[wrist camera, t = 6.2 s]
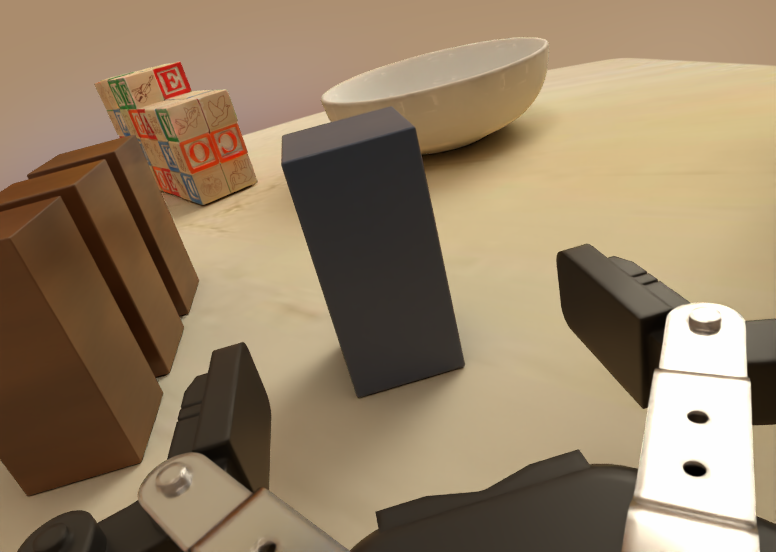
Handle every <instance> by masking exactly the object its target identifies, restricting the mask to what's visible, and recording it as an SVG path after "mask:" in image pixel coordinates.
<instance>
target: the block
mask: <svg viewBox="0 0 776 552" xmlns="http://www.w3.org/2000/svg"><path fill="white" fill-rule="evenodd" d="M281 166H282V169H283V172H284V175H285V178H286V181H287V184H288V187H289V190H290V193H291V196H292V199H293V202H294V205H295V209H296V212H297V215H298V218H299V221H300V224H301V227H302V230H303V233H304V236H305V239H306V242H307V245H308V248H309V252H310V255H311V258H312V261H313V264H314V267H315V270H316V273H317V276H318V279H319V282H320V285H321V288H322V291H323V294H324V298H325V301H326V304H327V307H328V310H329V313H330V316H331V319H332V322H333V325H334V328H335V331H336V334H337V337H338V340H339V344H340V347H341V350H342V353H343V356H344V359H345V362H346V365H347V368H348V371H349V374H350V377H351V380H352V383H353V387H354V390H355V393H356V396H357V397H358V398H359V397H363V396H366V395H370V394H373V393H376V392H380V391H383V390H386V389H390V388H393V387H397V386H400V385H403V384H407V383H410V382H413V381H417V380H420V379H424V378H427V377H430V376H434V375H437V374H441V373H444V372H447V371H451V370H454V369H457V368H461V367H464V366H465V362H464V358H463V353H462V348H461V343H460V338H459V333H458V329H457V324H456V319H455V314H454V309H453V305H452V300H451V295H450V290H449V285H448V281H447V276H446V271H445V266H444V261H443V256H442V252H441V247H440V242H439V237H438V232H437V228H436V223H435V218H434V213H433V208H432V204H431V199H430V194H429V189H428V184H427V179H426V175H425V170H424V165H423V160H422V155H421V151H420V146H419V141H418V136H417V131H416V128H415V126H413V125H412V124H411V123H410V122H409V121H408V120H407V119H406V118H404V117H403V116H402V115H401V114H400V113H399V112H398V111H397V110H395V109H394V108H393V107H392V106H389V107H386V108H382V109H378V110H375V111H371V112H367V113H363V114H360V115H356V116H352V117H349V118H345V119H341V120H338V121H334V122H330V123H327V124H323V125H319V126H316V127H312V128H308V129H305V130H301V131H297V132H294V133H290V134H286V135H283V136H282V159H281Z"/></svg>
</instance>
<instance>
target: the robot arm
mask: <svg viewBox="0 0 776 552" xmlns="http://www.w3.org/2000/svg"><path fill="white" fill-rule="evenodd" d="M556 261H557V271H558V281H559V290H560V300H561V308H562V312H563V315H564V318H565V320H566V322H567V324H568V326H569V327H570V329H571V330H572V331H573V332H574V333H575V334H576V335H577V337H578V338H579V339H580V340H581V341H582V342H583V343H584V344H585V345H586V347H587V348H588V349H589V350H590V351H591V352H592V353H593V354H594V355H595V356H596V358H597V359H598V360H599V361H600V362H601V363H602V364H603V365H604V366H605V368H606V369H607V370H608V371H609V372H610V373H611V374H612V375H613V376H614V377H615V379H616V380H617V381H618V382H619V383H620V384H621V385H622V386H623V387H624V389H625V390H626V391H627V392H628V393H629V394H630V395H631V396H632V397H633V398H634V400H635V401H636V402H637V403H638V404H639V405H640V406H641V407H642V408H643V409H645V408H648V411H647V418H646V424H645V430H644V436H643V442H642V449H641V455H640V461H639V467H638V469H636V468H632V467H627V466H622V465H613V464H588V462H587V461H586V459H585V458H584V456H583V455H582V453H581V452H580V450H579V449H578V450H575V451H572V452H569V453H565V454H562V455H559V456H556V457H552V458H549V459H546V460H543V461H539V462H536V463H533V464H530V465H528V466H526V467H524V468H523V469H521V470H519V471H517V472H516V473H514V474H512V475H510V476H509V477H507V478H505V479H503V480H502V481H500V482H498V483H496V484H495V485H493V486H491V487H489V488H488V489H486V490H483V491H479V492H469V493H458V494H446V495H435V496H425V497H422V498H419V499H416V500H412V501H409V502H406V503H403V504H399V505H396V506H393V507H390V508H386V509H383V510H380V511H376V517H377V523H378V528H379V529H378V530H376V531H374V532H373V533H371V534H369V535H368V536H367V537H365V538H364V539H363V540H361V541H360V542H359V543H358V544H356V545H355V546H354V547H353V548H352V549H351V550H350V551H349V550H348V549H346V548H345V547H344V546H342V545H341V544H340V543H338V542H337V541H336V540H334V539H333V538H332V537H330V536H329V535H328V534H326V533H325V532H324V531H322V530H321V529H320V528H318V527H317V526H316V525H314V524H313V523H312V522H310V521H309V520H308V519H306V518H305V517H304V516H302V515H301V514H300V513H298V512H297V511H296V510H294V509H293V508H292V507H290V506H289V505H288V504H286V503H285V502H284V501H282V500H281V499H280V498H278V497H277V496H276V495H274V494H273V493H272V492H270V491H269V471H270V440H271V409H270V404H269V400H268V396H267V393H266V391H265V388H264V386H263V383H262V381H261V378H260V376H259V374H258V371H257V369H256V366H255V364H254V362H253V359H252V357H251V354H250V352H249V350H248V348H247V346H246V344H245V343H244V342H242V343H238V344H235V345H231V346H228V347H224V348H221V349H218V350H214V351H213V352H212V356H211V361H210V366H209V371H208V373H206V374H203V375H199V376H197V377H196V378H195V379H194V380H193V382H192V383H191V384H190V386H189V387H188V388H187V390H186V391H185V393H184V397H183V401H182V404H181V410H180V412H179V416H178V422H177V424H176V427H175V431H174V435H173V439H172V443H171V447H170V450H169V454H168V458H167V460H166V461H164V462H163V463H161V464H160V465H158V466H157V467H156V468H155V469H153V470H152V471H151V472H150V473H149V474H148V476H147V477H146V478H145V479H144V481H143V482H142V484H141V486H140V488H139V492H138V500H137V501H136V502H135V503H133V504H131V505H130V506H128V507H126V508H124V509H122V510H121V511H119V512H117V513H115V514H113V515H111V516H109V517H108V518H106V519H104V520H102V521H100V522H98V523H97V522H96V521H95V519H94V518H93V517H92V515H91V514H90V513H88V512H86V511H82V510H76V511H70V512H67V513H64V514H61V515H59V516H57V517H55V518H53V519H51V520H49V521H48V522H46V523H45V524H43V525H42V526H41V527H39V528H38V529H37V530H36V531H34V532H33V533H32V534H31V535H30V536H29V537H28V538H27V539H26V540H25V542H24V543H23V544H22V545H21V547H20V548H19V550H18V551H17V552H776V524H774V523H772V522H769V521H767V520H765V519H762V518H760V517H757V516H756V506H755V482H754V457H753V432H752V425H773V424H776V319H765V320H753V321H745V320H744V318H743V317H742V316H741V315H740V314H739V313H738V312H737V311H735V310H733V309H731V308H729V307H726V306H723V305H719V304H713V303H690V302H688V301H687V300H686V299H684V298H683V297H681V296H680V295H679V294H677V293H676V292H674V291H673V290H672V289H670V288H669V287H668V286H666V285H665V284H663V283H662V282H661V281H659V282H658V280H657V279H656V278H655V277H654V276H652V275H651V274H647V272H646V271H645V270H644V269H642V268H641V267H640V266H638V265H637V264H635V263H634V262H632V261H628V260H625V259H622V258H619V257H615V256H612V257H609V258H607V257H606V256H604V255H603V254H602V253H600V252H599V251H598V250H597V249H595V248H594V247H593V246H591V245H590V244H584V245H581V246H577V247H574V248H570V249H567V250H563V251H560V252H558V254H557V260H556Z"/></svg>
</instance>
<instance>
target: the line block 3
mask: <svg viewBox="0 0 776 552" xmlns="http://www.w3.org/2000/svg"><path fill="white" fill-rule="evenodd" d="M162 396H163V391H162V389H161V388H160V386H159V384H158V382H157V380H156V378H155V376H154V374H153V372H152V370H151V368H150V367H149V365H148V363H147V361H146V359H145V357H144V355H143V353H142V351H141V349H140V347H139V346H138V344H137V342H136V340H135V338H134V336H133V334H132V332H131V330H130V328H129V326H128V324H127V323H126V321H125V319H124V317H123V315H122V313H121V311H120V309H119V307H118V305H117V303H116V302H115V300H114V298H113V296H112V294H111V292H110V290H109V288H108V286H107V284H106V282H105V280H104V279H103V277H102V275H101V273H100V271H99V269H98V267H97V265H96V263H95V261H94V259H93V258H92V256H91V254H90V252H89V250H88V248H87V246H86V244H85V242H84V240H83V238H82V237H81V235H80V233H79V231H78V229H77V227H76V225H75V223H74V221H73V219H72V217H71V215H70V214H69V212H68V210H67V208H66V206H65V204H64V202H63V200H62V198H61V197H60V196H57V197H54V198H50V199H46V200H43V201H39V202H35V203H32V204H28V205H24V206H21V207H17V208H13V209H10V210H6V211H2V212H0V460H1V461H2V462H3V464H4V465H5V467H6V468H7V469H8V471H9V472H10V473H11V475H12V476H13V477H14V479H15V480H16V481H17V483H18V484H19V485H20V487H21V488H22V489H23V491H24V492H25V494H26V495H27V496H30V495H33V494H37V493H40V492H43V491H47V490H50V489H53V488H57V487H60V486H64V485H67V484H70V483H74V482H77V481H80V480H84V479H87V478H91V477H94V476H97V475H101V474H104V473H107V472H111V471H114V470H118V469H121V468H124V467H128V466H131V465H135V464H138V463H141V462H142V459H143V455H144V452H145V449H146V446H147V443H148V440H149V437H150V434H151V430H152V427H153V424H154V421H155V418H156V415H157V412H158V408H159V405H160V402H161V399H162Z"/></svg>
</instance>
